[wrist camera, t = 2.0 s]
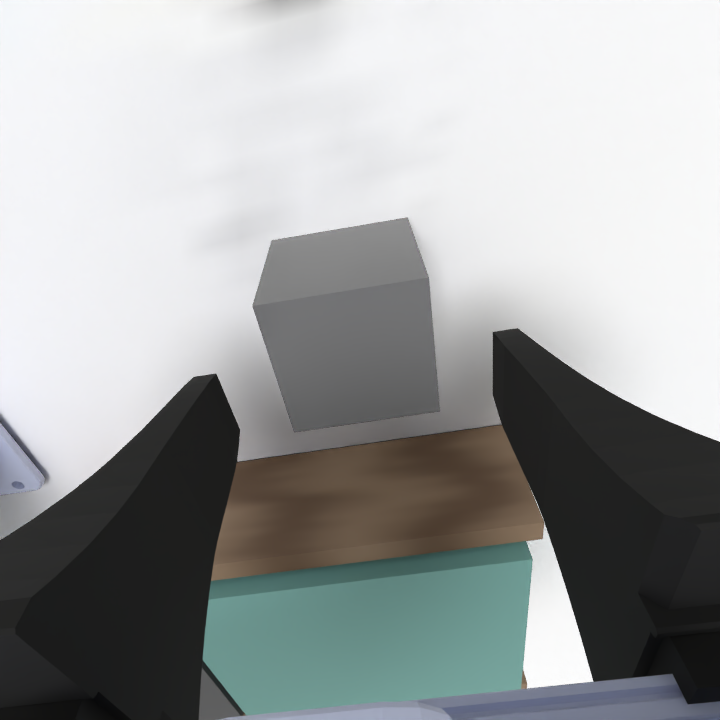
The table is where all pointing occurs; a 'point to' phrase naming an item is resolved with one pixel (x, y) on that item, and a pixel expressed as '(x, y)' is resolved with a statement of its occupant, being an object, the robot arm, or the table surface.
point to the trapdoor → (367, 632)
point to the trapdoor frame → (375, 504)
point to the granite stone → (349, 325)
